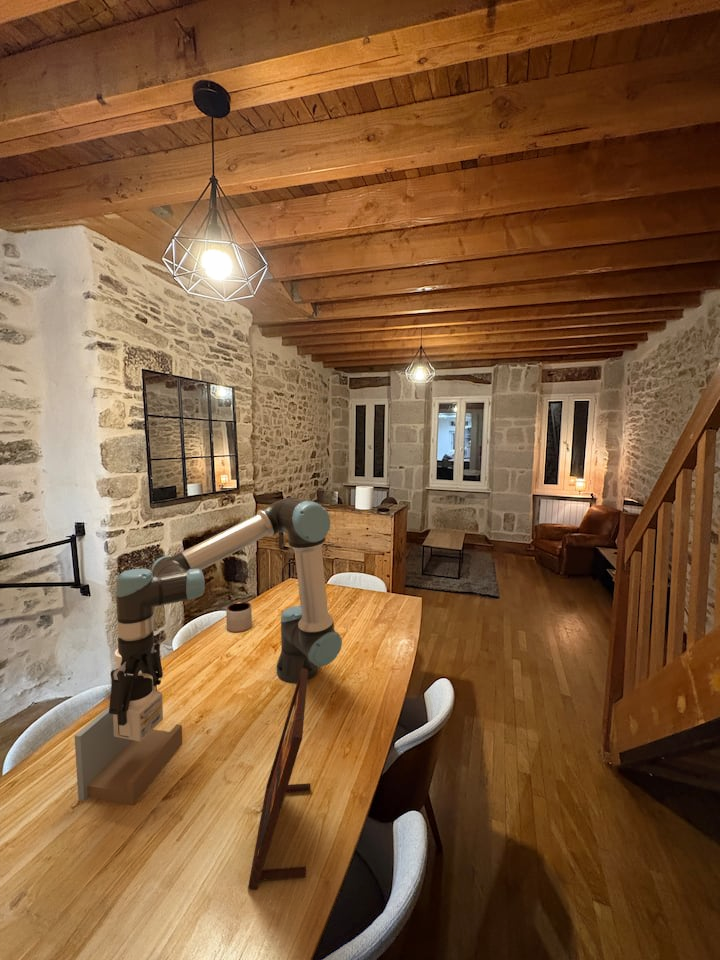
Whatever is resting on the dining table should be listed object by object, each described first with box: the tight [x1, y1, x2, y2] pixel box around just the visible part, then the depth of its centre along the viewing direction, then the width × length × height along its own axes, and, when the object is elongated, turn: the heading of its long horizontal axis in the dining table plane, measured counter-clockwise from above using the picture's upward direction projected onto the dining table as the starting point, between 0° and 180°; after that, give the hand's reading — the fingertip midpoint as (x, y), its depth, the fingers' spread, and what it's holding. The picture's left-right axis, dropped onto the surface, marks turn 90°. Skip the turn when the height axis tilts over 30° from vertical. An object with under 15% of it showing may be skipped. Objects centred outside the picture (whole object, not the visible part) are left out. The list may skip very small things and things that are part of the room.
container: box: [113, 673, 164, 742], centre depth 93 cm, size 8×8×13 cm
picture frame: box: [247, 668, 312, 891], centre depth 79 cm, size 21×11×30 cm, turn 5°
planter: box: [225, 601, 253, 633], centre depth 169 cm, size 11×11×10 cm
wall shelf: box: [74, 706, 183, 806], centre depth 95 cm, size 13×20×16 cm, turn 171°
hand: (138, 721), depth 94 cm, fingers closed on container, 8 cm apart
